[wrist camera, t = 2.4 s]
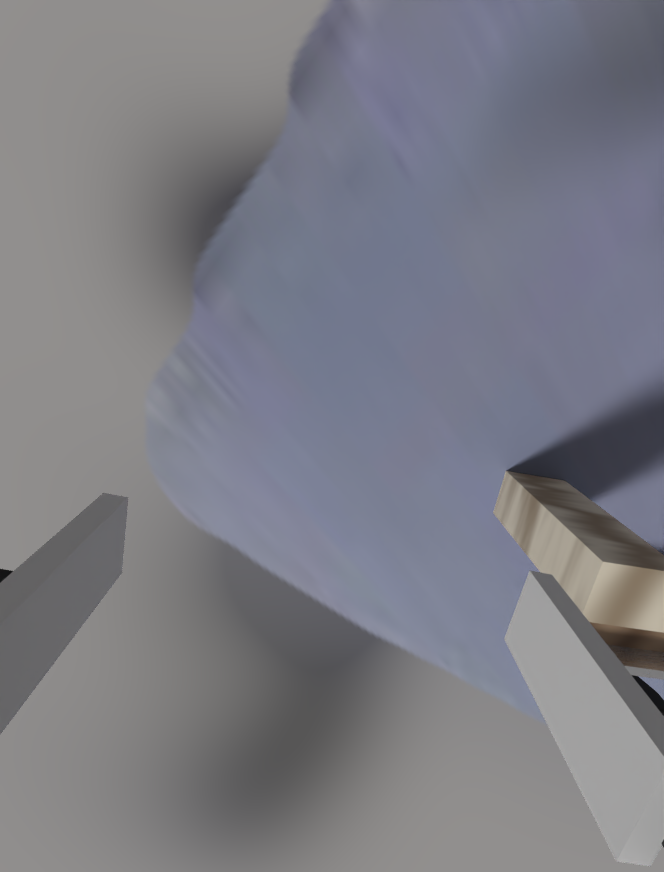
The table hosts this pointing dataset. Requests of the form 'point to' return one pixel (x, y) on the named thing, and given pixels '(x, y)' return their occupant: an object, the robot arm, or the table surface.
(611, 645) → the floor track
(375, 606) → the table surface
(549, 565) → the pale wooden block
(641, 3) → the table surface
